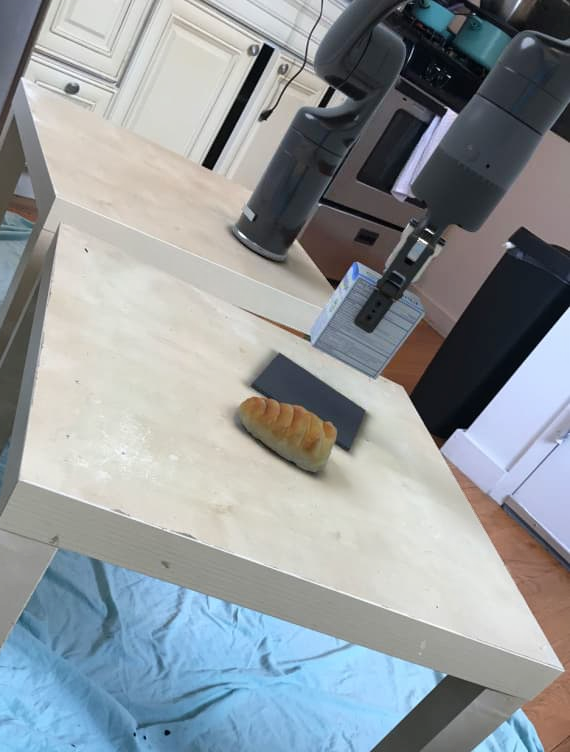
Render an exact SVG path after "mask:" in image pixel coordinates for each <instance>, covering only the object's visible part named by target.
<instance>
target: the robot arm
mask: <svg viewBox="0 0 570 752" xmlns="http://www.w3.org/2000/svg"><path fill="white" fill-rule="evenodd" d="M414 1H415V0H352V1H351V2H349V4H348V5H347V6H346V7H345V8H344V10H343V11H342V12H341V13H340V15H338V17H337V18H336V19H335V21H334V22H333V23H332V25H331V26H330V27H329V28H328V30H327V31H326V33H325V34H324V35H323V38H322V39H321V41H320V43H319V45H318V46H317V49H316V51H315V55H314V58H313V64H312V65H313V71H314V74H315V75H316V76H317V78H319V80H321V81H322V82H323V83H325V84H326V85H328V86H329V87H331V88H332V89H334V90H336V91H337V92H339V93H341V94H343V96H345V97H347V98H346V99H345V100H344V102H342V103H341V104H340V105H337V106H333V107H316V106H309V105H304V106H301V107H299V108H298V110H297V111H296V113H295V114H294V116H293V117H292V118H293V119H292V120H291V122H290V124H289V125H288V127H287V129H286V131H285V133H284V135H283V136H282V138H281V140H280V142H279V143H278V146H277V147H276V150H275V151H274V153H273V156H272V157H271V159H270V161H269V162H268V165H267V166H266V168H265V170H264V172H263V173H262V175H261V177H260V179H259V181H258V182H257V185H256V187H255V188H254V190H253V192H252V194H251V196H250V198H249V200H248V201H247V203H244V204H243V206H242V207H241V214H240V215H239V218H238V219H237V222H235V223H234V224H233V227H232V233H233V234H234V236H235V237H236V238H237V239H238V240H239V241H240V242H241V243H242V244H244V245H245V246H246V247H248V248H249V249H250V250H252V251H254V252H255V253H257V254H260V255H261V256H263V257H265V258H267V259H270V260H273V261H276V262H283V261H285V259H286V257H287V256H288V253H289V251H290V249H291V247H292V246H293V244H294V242H295V241H296V239H297V238H298V236H299V234H300V233H301V231H302V230H303V228H304V226H305V224H306V222H307V221H308V219H309V218H310V216H311V214H312V213H313V211H314V210H315V208H316V206H317V204H318V202H319V201H320V199H321V197H322V196H323V194H324V193H325V191H326V189H327V187H328V186H329V184H330V182H331V181H332V180H333V177H334V175H335V173H336V172H337V170H338V169H339V167H340V165H341V164H342V162H343V160H344V159H345V157H346V156H347V154H348V152H349V150H350V149H351V148H352V146H353V145H354V144H355V143H356V142H357V141H358V139H359V138H360V136H361V135H362V133H363V132H364V130H365V129H366V127H367V125H368V123H369V122H370V120H371V119H372V117H374V114H375V113H376V111H377V110H378V108H379V107H380V105H381V104H382V102H383V101H384V99H385V98H386V96H387V95H388V93H389V92H390V90H391V89H392V88H393V86H394V84H395V82H396V81H397V80H398V77H399V75H400V73H401V71H402V69H403V67H404V64H405V60H406V57H407V47H406V46H407V45H406V44H405V42H404V41H403V40H402V39H401V38H400V37H398V36H397V35H395V34H394V33H392V32H391V31H390V30H388V29H386V28H385V27H384V26H382V25H380V23H381V22H382V21H384V19H386V18H387V17H389V15H391V14H392V13H393V12H395V11H396V10H397V9H399V8H401V7H403V6H405V5H406V4H408V3H412V2H414ZM561 1H562V2H563V3H564V4H566V5H567V6H569V7H570V0H561ZM569 103H570V38H567V39H565V40H561V39H558V38H556V37H553V36H550V35H547V34H545V33H542V32H539V31H537V30H529V29H528V30H523V31H520V32H519V33H517V34H516V35H514V37H513V38H512V39H511V40H510V42H509V43H508V44H507V45H506V47H505V49H504V50H503V51H502V53H501V54H500V56H499V57H498V58H497V60H496V62H495V63H494V65H493V67H492V68H491V70H490V71H489V72H488V74H487V75H486V77H485V79H484V80H483V82H482V83H481V84H480V86H479V88H478V89H477V91H476V93H475V94H474V95H473V96H472V98H471V99H470V100H469V101H468V103H466V105H465V106H464V107H463V109H462V110H461V111H460V112H459V114H458V115H457V116H456V118H455V119H454V120H453V121H452V123H451V125H450V126H449V128H448V129H447V131H446V132H445V133H444V135H443V136H442V138H441V139H440V140H439V141H440V142H438V144H437V146H436V147H435V148H434V150H433V152H432V153H431V155H430V156H429V157H428V159H427V161H426V163H425V164H424V165H423V166H422V168H421V170H420V172H419V173H418V174H417V176H416V178H415V179H414V180H413V182H412V184H411V185H410V191H411V193H412V195H413V196H414V197H415V198H416V199H417V200H418V201H419V202H421V203H422V204H423V205H425V206H426V208H427V211H426V213H425V214H424V216H422V217H421V219H420V218H419V219H415V218H414V217H412V218H411V220H410V221H409V223H408V224H407V225H406V226H405V228H404V230H403V232H402V233H401V235H400V238H399V239H400V240H399V242H398V243H397V245H396V246H395V248H394V249H393V251H392V252H391V254H390V255H389V257H388V258H387V260H386V261H385V263H384V265H385V269H384V270H383V272H382V278H381V279H380V278H379V279H378V281H377V282H376V284H375V288H374V291H373V293H372V294H371V296H370V297H369V298H368V300H367V301H366V303H365V304H364V306H363V307H362V309H361V310H360V312H359V313H358V314H357V316H356V317H355V319H354V324H355V325H356V326H358V327H359V328H361V329H362V330H364V331H365V332H367V333H372V332H373V331H374V330H375V328H376V327H377V326H378V324H379V323H380V321H381V320H382V318H383V317H384V316H385V314H386V313H387V311H388V310H389V309H390V307H391V306H392V304H393V303H395V302H396V301H399V299H401V298H402V296H403V295H404V294H403V293H404V291H405V290H407V289H408V287H409V286H410V285H413V284H415V283H416V282H418V281H419V279H420V277H421V276H422V275H423V273H424V272H425V271H426V270H427V267H428V266H429V265H430V263H431V262H432V261H434V260H435V259H437V257H438V256H439V255H440V254H441V252H442V250H443V249H444V248H445V246H446V242H447V241H448V240H447V239H446V238H444V237H443V236H442V235H443V234H444V233H445V231H446V230H447V228H448V227H449V226H452V225H455V226H456V227H458V228H460V229H462V230H464V231H466V232H469V233H477V232H479V231H480V230H481V228H482V227H483V226H484V224H485V223H486V222H487V220H488V218H489V217H490V216H491V215H492V214H493V212H494V210H495V209H496V208H497V207H498V205H499V203H500V202H502V199H503V198H504V197H505V196H506V194H507V193H508V192H509V190H510V189H511V187H512V186H513V185H514V183H515V182H516V181H517V180H518V178H519V177H520V175H521V174H522V172H523V171H524V170H525V169H526V167H527V165H528V164H529V163H530V160H532V157H533V156H534V154H535V152H536V150H537V148H538V147H539V145H540V143H541V142H542V141H543V139H544V137H546V135H547V134H548V132H549V131H550V129H551V128H552V127H553V125H555V123H556V121H557V120H558V119H559V118H560V116H561V114H562V113H563V112H564V111H565V109H566V107H567V106H568V105H569ZM392 281H393V282H392ZM395 283H396V284H395ZM397 284H398V285H399V286H398V285H397Z"/></svg>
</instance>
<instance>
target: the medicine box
mask: <svg viewBox="0 0 570 752" xmlns="http://www.w3.org/2000/svg"><path fill="white" fill-rule="evenodd" d="M382 276H383V274H380V273H378V272H377V271H374V270H373V269H371V268H370V267H368V266H366V265H364V264H363V263H361V262H359V261H354V262H353V263H352V264H351V266H350V268H349V270H348V271H346V274H345V275H344V277H343V278H342V280H341V281H340V283H339V284H338V286H337V287H336V289H335V290H334V292H333V294H332V295H331V297H330V298H329V300H328V301H327V303H326V305H325V306H324V308H323V309H322V311H321V312H320V314H319V315H318V317H317V318H316V319H315V321H314V322H313V325H312V326H311V327H310V345H311V347H313V348H314V349H316V350H318V351H320V352H322V353H324V354H326V356H327V355H328V356H329V357H331V358H333V359H335V360H337V361H339V362H341V363H343V364H344V365H346V366H348V367H350V368H352V369H354V370H356V371H358V372H360V373H361V374H363V375H365V376H366V377H369V378H371V379H372V380H375V381H376V380H377V379H378V378H379V377H380V375H381V374H382V372H383V371H384V369H385V368H386V367H387V365H389V363H390V361H391V360H392V359H393V358H394V356H395V355H396V353H397V352H398V351H399V349H400V348H401V347H402V346H403V344H404V343H405V341H406V340H407V339H408V337H409V336H410V335H411V333H412V332H413V331H414V330H415V328H416V327H417V326H418V324H419V322H420V321H421V320H422V319H423V318H424V317H425V315H426V312H425V309H424V305H423V304H422V302H421V299H420V298H419V296H418V295H417V294H415V293H413V292H411V291H409V290H408V289H406V290H405V291H404V293H403V294H404V295H403V296H402V298H401V299H399V301H396V302H395V303H393V304H392V306H391V307H390V309H389V310H388V311H387V313H386V314H385V316H384V317H383V318H382V320H381V321H380V323H379V324H378V326H377V327H376V328H375V330H374V331H373V332H372V333H367V332H365V331H364V330H362V329H361V328H359V327H358V326H356V325H355V324H354V319H355V317H356V316H357V314H358V313H359V312H360V310H361V309H362V307H363V306H364V304H365V303H366V301H367V300H368V298H369V297H370V296H371V294H372V293H373V291H374V288H375V284H376V282H377V281H378V279H379V278H380V279H381V278H382ZM392 282H393V281H392ZM395 284H396V283H395ZM397 285H398V284H397ZM398 286H399V285H398Z"/></svg>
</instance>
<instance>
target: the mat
mask: <svg viewBox="0 0 570 752" xmlns="http://www.w3.org/2000/svg"><path fill="white" fill-rule="evenodd" d="M250 387H252V388H253V389H255V390H256V391H257V392H259V393H260V394H262V395H264V396H265V397H266V398H267V399H274V400H276V401H277V402H279V403H285V404H290V405H298V406H302V407H303V408H305V409H306V410H307V411H309V412H311V413H313V414H315V415H316V416H317V417H318V418H319V419H321V420H322V421H323V422H331V423H332V424H333V426H334V427H335V428H336V429H337V436H336V441H335V443H334V444H336V445H337V446H339V447H340V448H342V449H343V450H344V451H346V452H350V451H351V449H352V446H353V444H354V442H355V439H356V437H357V434H358V432H359V429H360V427H361V424H362V422H363V419H364V417H365V415H366V412H367V410H366V409H365V408H363V407H362V406H360V405H358V404H357V403H356V402H354V401H353V400H352V399H350V398H348V397H347V396H345V395H344V394H342V393H341V392H340V391H338V390H337V389H335V388H333V387H332V386H330V384H327V383H326V382H325V381H323V380H322V379H320V378H318V377H317V376H316V375H314V374H312V373H311V372H309V371H308V370H306V369H305V368H304V367H302V366H301V365H299V364H297V362H295V361H294V360H292V359H290V358H289V357H288V356H286V355H284V354H283V353H281V352H278V354H277V355H276V356H275V357H274V358H273V359H272V360H271V361H270V363H269V364H268V365H267V366H266V367H265V368H264V369H263V370H262V371H261V373H260V374H259V375H258V376H257V377H256V378H255V379H254V381H252V382H251V385H250Z"/></svg>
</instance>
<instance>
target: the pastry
mask: <svg viewBox="0 0 570 752" xmlns="http://www.w3.org/2000/svg"><path fill="white" fill-rule="evenodd" d="M237 413H238V416H239V419H240V421H241V423H242V425H243V426H244V427H245V429H246V432H247V433H250V434H251V436H252V437H253V438H255V439H257V440H259V441H260V442H262V444H264V445H265V447H266V448H269V449H271V450H272V451H274V452H275V453H276V454H277V455H278V456H280V457H282V458H284V459H285V460H287V461H288V462H290V461H291V462H293V463H295V465H296V467H298V468H300V469H302V470H304V471H308V472H312V473H317V472H318V471H321V470H323V469H325V466H326V464H327V463H328V461H329V459H330V456H331V454H332V450H333V446H334V445H335V444H336V443H335V441H336V436H337V429H336V428H335V427H334V426H333V424H332V423H331V422H323V421H322V420H321V419H319V418H318V417H317V416H316V415H315V414H313V413H311V412H309V411H307V410H306V409H305V408H303V407H302V406H298V405H290V404H285V403H279V402H277V401H276V400H274V399H269V398H264V397H259V396H251V397H248V398H246V399H245V400H243V401H242V403H240V405H239V406H238V408H237Z"/></svg>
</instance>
